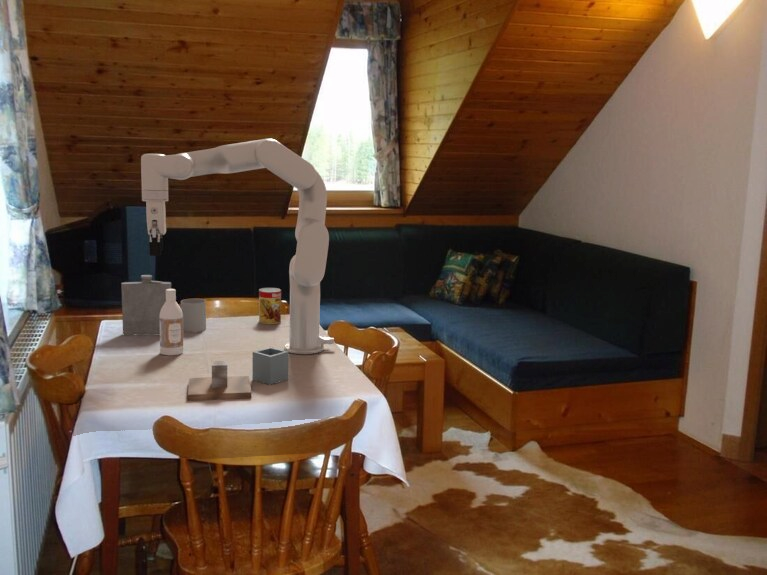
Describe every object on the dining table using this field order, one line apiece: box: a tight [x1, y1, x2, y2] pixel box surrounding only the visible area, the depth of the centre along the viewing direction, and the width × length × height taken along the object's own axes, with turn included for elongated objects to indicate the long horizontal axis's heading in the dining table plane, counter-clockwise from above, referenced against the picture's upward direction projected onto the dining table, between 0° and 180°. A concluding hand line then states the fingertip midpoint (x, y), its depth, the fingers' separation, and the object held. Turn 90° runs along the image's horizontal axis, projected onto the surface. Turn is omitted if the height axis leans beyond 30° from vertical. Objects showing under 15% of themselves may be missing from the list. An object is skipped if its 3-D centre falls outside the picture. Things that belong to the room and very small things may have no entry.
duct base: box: [187, 360, 252, 401], centre depth 202 cm, size 16×14×8 cm
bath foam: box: [159, 288, 184, 357], centre depth 234 cm, size 7×7×20 cm
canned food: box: [258, 287, 282, 325], centre depth 280 cm, size 8×8×12 cm
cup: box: [180, 298, 207, 333], centre depth 265 cm, size 8×8×10 cm
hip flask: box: [121, 274, 172, 336], centre depth 256 cm, size 16×4×20 cm, turn 102°
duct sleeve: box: [252, 346, 290, 385], centre depth 213 cm, size 7×7×8 cm
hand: (156, 253), depth 229 cm, fingers open, 9 cm apart
